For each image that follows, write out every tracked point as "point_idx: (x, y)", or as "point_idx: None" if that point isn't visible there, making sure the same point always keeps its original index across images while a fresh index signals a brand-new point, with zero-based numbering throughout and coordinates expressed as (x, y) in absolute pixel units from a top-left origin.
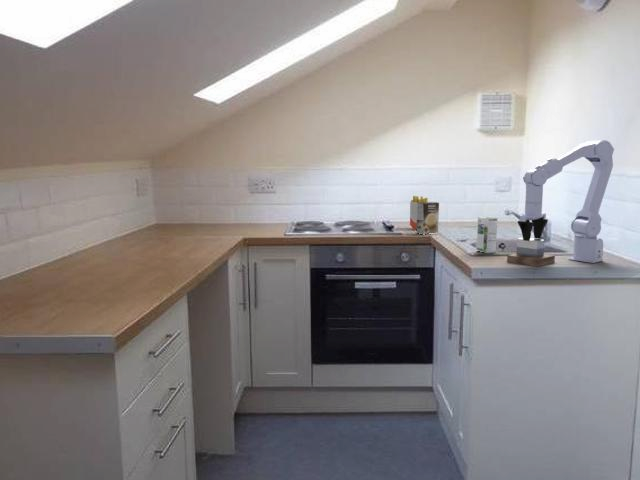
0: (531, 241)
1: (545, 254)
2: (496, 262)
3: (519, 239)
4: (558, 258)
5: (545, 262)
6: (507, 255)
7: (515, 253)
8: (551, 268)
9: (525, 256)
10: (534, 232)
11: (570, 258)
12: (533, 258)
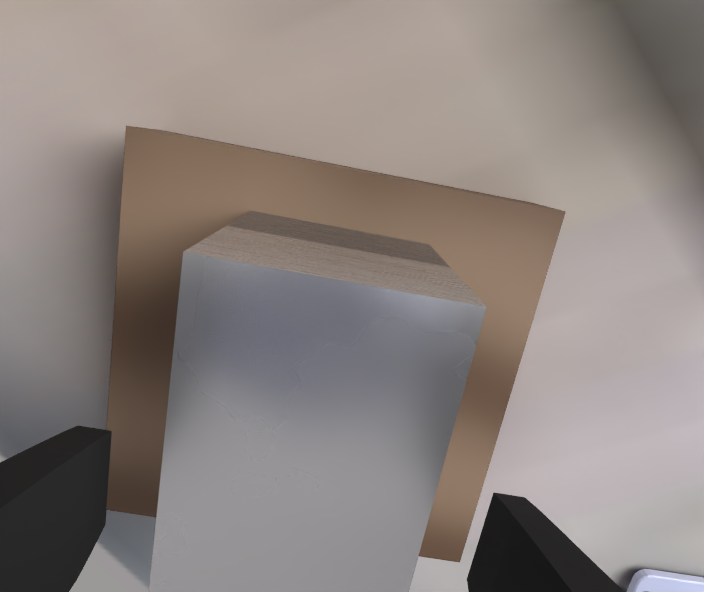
0: (163, 529)
1: (471, 475)
2: (33, 36)
3: (182, 304)
4: (672, 484)
5: None
6: (127, 129)
7: (323, 170)
8: (147, 566)
9: None
10: (545, 576)
11: (648, 590)
12: (138, 454)
